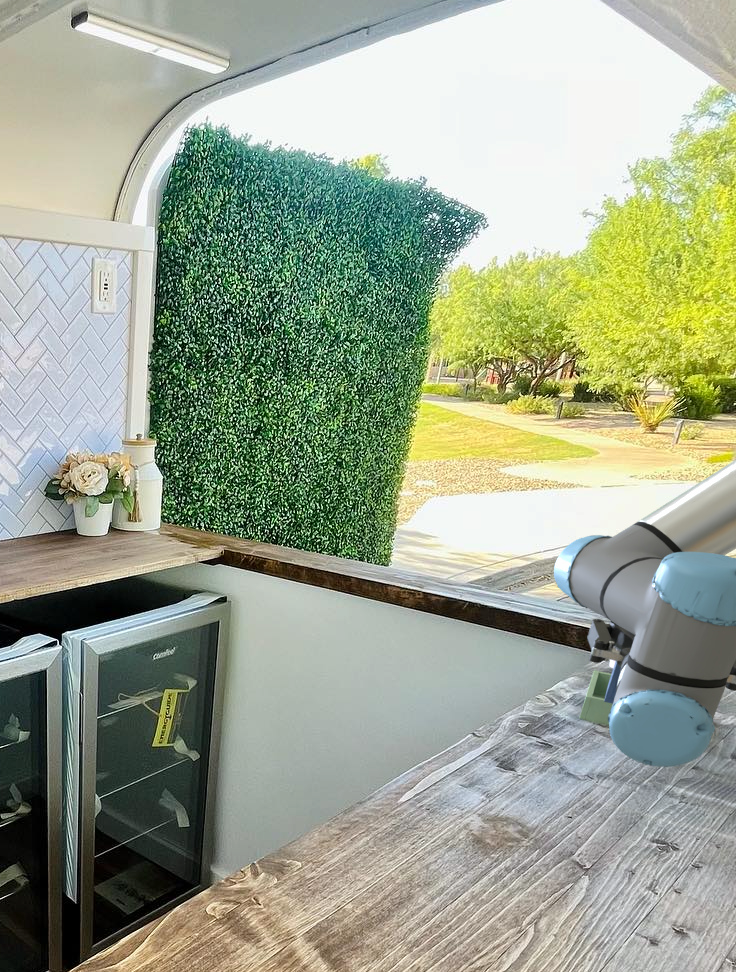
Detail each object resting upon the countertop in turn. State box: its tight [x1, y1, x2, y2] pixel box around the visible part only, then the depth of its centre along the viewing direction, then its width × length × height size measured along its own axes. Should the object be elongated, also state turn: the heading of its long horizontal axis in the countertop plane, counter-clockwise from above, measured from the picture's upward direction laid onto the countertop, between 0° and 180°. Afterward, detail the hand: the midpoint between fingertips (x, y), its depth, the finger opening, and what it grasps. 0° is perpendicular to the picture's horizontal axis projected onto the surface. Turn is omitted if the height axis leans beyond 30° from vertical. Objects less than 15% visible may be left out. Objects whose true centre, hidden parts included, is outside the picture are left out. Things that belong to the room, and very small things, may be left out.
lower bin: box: [578, 669, 613, 727], centre depth 110 cm, size 12×12×4 cm
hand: (668, 625), depth 98 cm, fingers closed on upper bin, 8 cm apart
